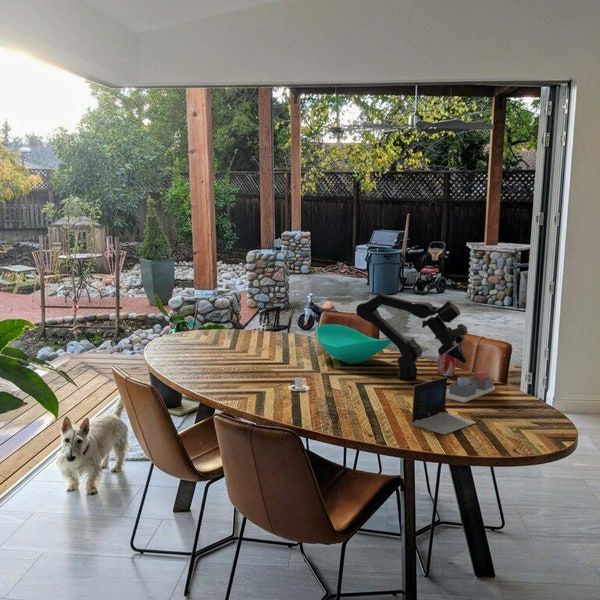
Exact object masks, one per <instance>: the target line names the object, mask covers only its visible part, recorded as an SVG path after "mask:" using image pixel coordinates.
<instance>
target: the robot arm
mask: <svg viewBox="0 0 600 600" xmlns="http://www.w3.org/2000/svg"><path fill="white" fill-rule="evenodd" d="M382 305H383V306H386V307H389V308H393V309H397V310H401V311H404V312H405V311H406V312H408V313H410V314H411V315H413V316H414V317H417V318H419V319H423V320H421V321H422V325H421V328H422V329H424V328H426V327H427V328H428V329H429V330H430V331H431V332H432V334H433V335H434V339H435V340H438V341H439V343H440V344H441V345H440V346H439V348H437V350H438V351H437V353H438V355H439V354H440V355H441V356H442V355H443V354H444V353H445V352H447V351H449V352H448V353H446V354H448V355H450V356H452V357H454V358H456V360H458V361H459V362H461V363H463V364H466V363H467V362H468V360H467V359H466V356H465V354H464V351H463V349H462V346H463V342H464V341H465V340H466V337H465V335H467V334H469V332H468V327H467V326H466V325H464V324H463V323H459V324H458V325H457V327H455V328H451V326H449V327H448V326H447V325H446V324H445V323H448V324H451V322H453V321H454V320H455V319H456V318H457V317H459V316H460V315H462V313H461V311H460V309H459V308H458V306H456V305H455V304H454V303H453V302H451V300H448V301H447V302H445V303H444V304H443V305H442V306H440V307H436V306H433V304H432V303H431V302H427V301H425V302H423V301H412V300H407V299H403V298H400V297H394V296H392V295H388V294H386V293H380V294H377V295H376V296H374V298H372V299H370V300H368V301H366V302H365V301H364V302H363V303H359V304H357V306H356V311H355V312H356V315H357V316H358V317H359V318H361V319H362V320H364V321H366V322H368V323H370V324H372V325H374V327H376V328H377V330H379V331H380V332H381V333H382V334H383V335H384V336H385V337H386V338H387V340H388V339H390V340H391V343H393V344H394V345H395V346H396V347H397V349H398V351H399V352H400V354H401V356H400V357H398V358H397V364H398V374H397V375H396V376H397V377H398V379H399V380H400V381H417V377H418V368H417V364H416V363H417V362H418V360H420V358H422V356H423V350H422V348H421V344H419V343H417V342H416V341H415V339H414V338H412V339H406V338H405V337H404V336H403V335H402V334H401V333H400V332H399V331H398V330H396V329H395V328H394V327H393V326H392V325H391V324H390V323H389V322H388V321H387V320H385V318H384V317H382V315H380V312H379V311H378V309H379V307H381V306H382ZM434 316H435V317H434ZM427 318H428V319H427Z"/></svg>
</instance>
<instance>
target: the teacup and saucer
mask: <svg viewBox="0 0 600 600" xmlns="http://www.w3.org/2000/svg"><path fill="white" fill-rule="evenodd" d="M303 382H304V378H303V377H301V376H300V377H294V384H291V385H289V386H288V387H287V389H288V390H291V391H296V392H305V391H308V390H310V387H309V386H308V385H303ZM293 387H294V388H293Z"/></svg>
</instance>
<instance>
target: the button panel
mask: <svg viewBox="0 0 600 600" xmlns="http://www.w3.org/2000/svg"><path fill="white" fill-rule="evenodd" d="M467 378H469V379H470V383H469V386H467V387H464V386H460V385H457V381H454V382H452V383H449V388H446V399H448V400H449V399H450V400H452V401H456V402H461V403H466V402H468V401H471V400H474V399H476V398H478V397H481V396H483V395H484V396H485V394H489V393H491V392H493V391H495V388H496V387H495V386H494V383H495V382H494V380H495V379H494V377H491V376H487V379H486V380H481V379H476V378H475V374H474V375H472V376H469V377H467Z"/></svg>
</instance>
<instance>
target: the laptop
mask: <svg viewBox="0 0 600 600" xmlns="http://www.w3.org/2000/svg"><path fill="white" fill-rule="evenodd" d="M447 385H448V377H447V376H444V377H442V378H441V377H440V378H437V379H434V380H431V381H429V380H428V381H427V382H422V383H419V384H414V385H413V392H412V393H413V394H412V410H411V411H412V412H411V423H412V424H411V426H415V427H418V428H421V429H424V430H425V429H426V431H430V432H431V431H432V432H433V433H438V434H441V435H443V436H444V435H448V434H449V433H453V432H455V431H458V430H462V429H464V428H467V427H470V426H472V425H474V424H477V422H476V421H473V420H472V419H468V418H464V417H461V416H458V415H454V414H451V413H448V412H446V402H447V398H446V390H447V389H448V388H447Z"/></svg>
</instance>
